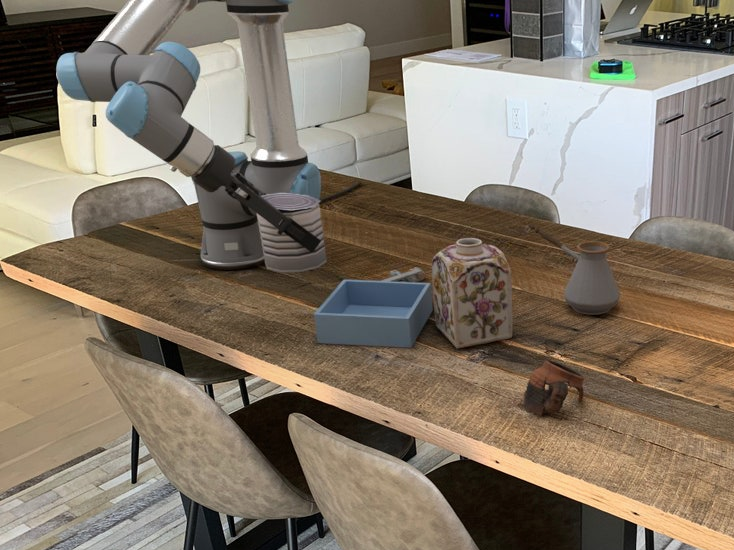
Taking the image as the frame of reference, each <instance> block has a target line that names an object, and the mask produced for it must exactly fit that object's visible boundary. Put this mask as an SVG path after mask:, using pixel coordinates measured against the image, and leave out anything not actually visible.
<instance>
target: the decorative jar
mask: <svg viewBox="0 0 734 550" xmlns="http://www.w3.org/2000/svg"><path fill="white" fill-rule="evenodd" d="M430 264H431V281H432V283H431V285H432V300H433V308H434V322H435V326H436V328H437V329H438V330H439V331H440V332H441V334H443V335H444V337H445V338H446V339H448V341H449V342H450V343H451V344H452V345H453V346H454V347H455V348H456V349H457V350H458V349H463V348H469V347H474V346H479V345H484V344H489V343H494V342H498V341H503V340H509V339H512V337H513V326H514V325H513V322H514V321H513V319H514V318H513V317H514V316H513V286H512V285H513V283H512V282H513V281H512V269H511V267H510V264H509V262H508V261H507V259H506V255H505V253H504V252H503V251H501V250H500V248H498V247H496V246H495V245H492V244H487V243H483V241H482V240H481V239H480V238H475V237H466V238H460V239H458V240H456V242H455V244H450V245H448V246H446V247H445V248H442V249H441V250H439V251H438V252H437V253H436V254H435V255H434V256H433V257H432V259H431V262H430Z"/></svg>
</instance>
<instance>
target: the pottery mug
mask: <svg viewBox="0 0 734 550" xmlns="http://www.w3.org/2000/svg"><path fill="white" fill-rule="evenodd" d="M541 364H542V365H540V366H538V367H536V369H535V370H533V371H532V372H531V374H530V375H529V380H528V382H527V385H526V389H525V390H524V392H523V394H522V395H523V398H522V402H521V403H522V404H521V405H523V406H524V408H526V409H527V410H528V411H530V412H531V413H533V414H535V415H537V416H540V417H542V415H543V411H544V409H545V410H546V411H547V412H548V413H550V414H557V413H559V412H561V409H562V408H563V404H564V401H566V398H567V396H568V395H569V387H573V388H575V389H576V390H577V392H578V398H577V401H578V403H582V402H583V399H584V394H585V393H584V392H585V391H584V386H583V382H584V381H585V378H584V376H583V375H582V374H581V373H579V372H578V371H576V370H574V369H572V368H570V367H567V366H565V365H564V364H561V363H559V362H556V361H553V360H550V359H543V362H542V363H541ZM546 385H547V388H548V389H546Z"/></svg>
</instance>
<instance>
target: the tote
mask: <svg viewBox="0 0 734 550" xmlns="http://www.w3.org/2000/svg"><path fill="white" fill-rule="evenodd" d="M433 308H434V306H433V293H432V283H431V282H415V283H414V282H402V281H394V282H391V281H381V280H365V279H345V278H343V280H342V281H341V282H340V283H339V284H338V285H337V286H336V287H335V288H334V290H333V291H332V292H331V293H330V295H329V296H328V297H327V298H326V299H325V301H324V302H323V303H322V304H321V305H320V306H319V307H318V309H317V310H316V311H315V312H314V313H313V319H314V326H315V333H316V340H317V344H327V345H348V346H349V345H351V346H368V347H369V346H371V347H387V348H390V347H391V348H408V349H409V348H410V349H411V348H412V347H413V345H414V344H415V342H416V341H417V339H418V337H419V335H420V333H421V332H422V330H423V328H424V327H425V325H426V323H427V322H428V319H429V318H430V316H431V315H432V312H433Z"/></svg>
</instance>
